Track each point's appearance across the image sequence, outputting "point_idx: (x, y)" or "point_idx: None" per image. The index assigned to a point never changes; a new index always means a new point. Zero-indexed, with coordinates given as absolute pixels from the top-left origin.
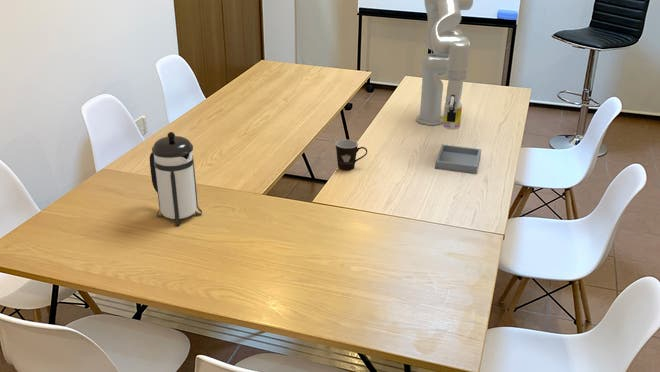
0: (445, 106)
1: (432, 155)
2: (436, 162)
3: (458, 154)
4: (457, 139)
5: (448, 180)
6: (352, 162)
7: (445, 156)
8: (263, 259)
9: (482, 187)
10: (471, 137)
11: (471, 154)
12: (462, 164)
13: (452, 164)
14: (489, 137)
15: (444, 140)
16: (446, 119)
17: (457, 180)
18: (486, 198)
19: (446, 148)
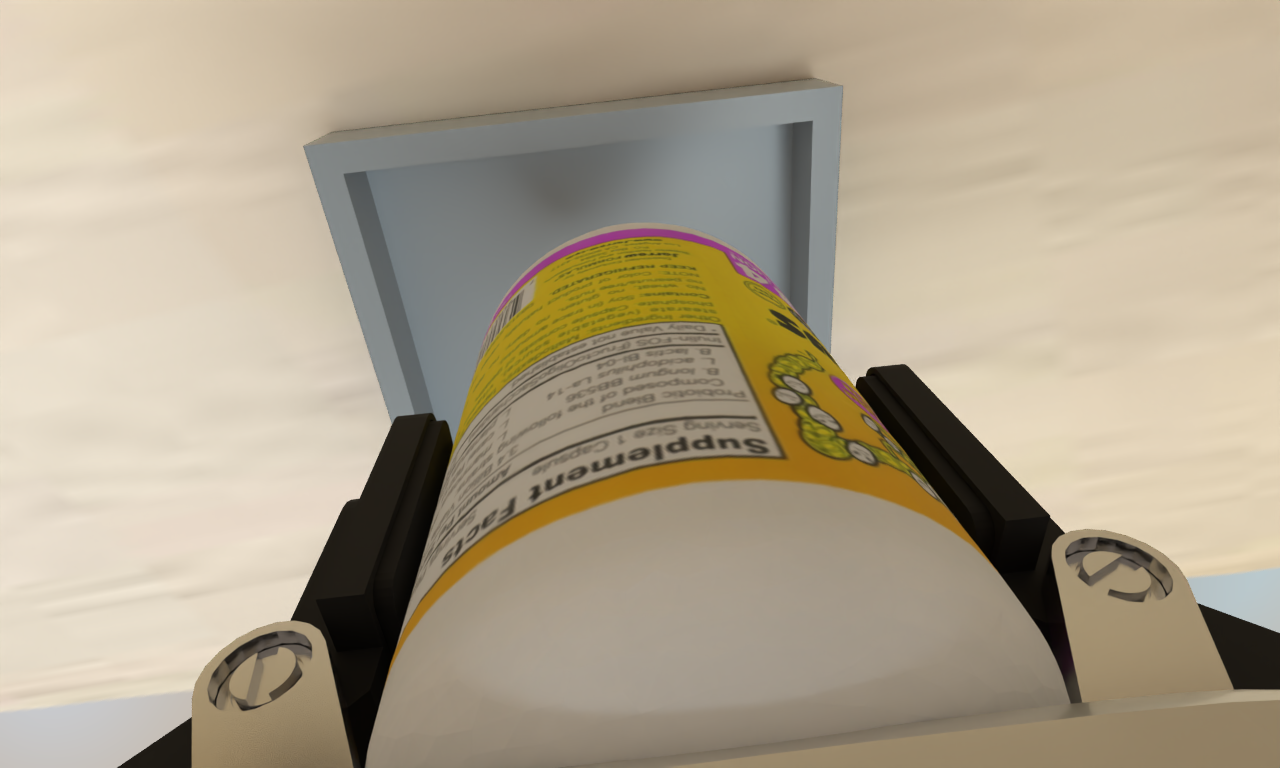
0: (482, 576)
1: (661, 8)
2: (309, 155)
3: None
4: (1166, 169)
5: (156, 321)
6: None
7: (651, 170)
8: None
9: (225, 561)
10: (1222, 283)
11: None
12: (398, 412)
13: (364, 323)
14: (1221, 416)
15: (1131, 36)
16: (468, 396)
17: (213, 387)
18: (71, 613)
19: (801, 149)
